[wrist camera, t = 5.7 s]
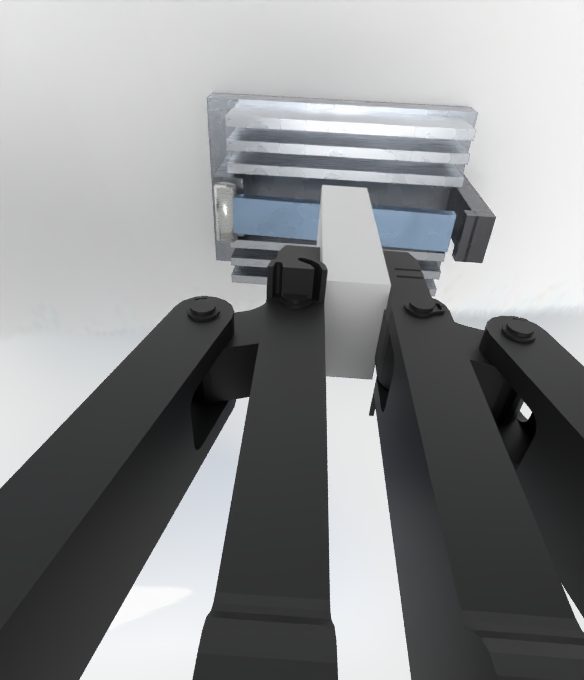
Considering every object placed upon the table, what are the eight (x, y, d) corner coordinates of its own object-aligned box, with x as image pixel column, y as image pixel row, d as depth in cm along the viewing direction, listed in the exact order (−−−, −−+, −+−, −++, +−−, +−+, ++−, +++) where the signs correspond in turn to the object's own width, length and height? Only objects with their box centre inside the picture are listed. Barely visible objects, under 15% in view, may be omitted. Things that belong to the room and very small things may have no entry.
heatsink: (221, 249, 40) (196, 302, 33) (213, 92, 33) (179, 117, 26) (440, 264, 40) (464, 322, 32) (479, 107, 33) (520, 136, 25)
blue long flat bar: (219, 233, 33) (214, 241, 32) (216, 181, 31) (211, 187, 29) (442, 253, 31) (445, 262, 30) (455, 200, 29) (459, 207, 28)
